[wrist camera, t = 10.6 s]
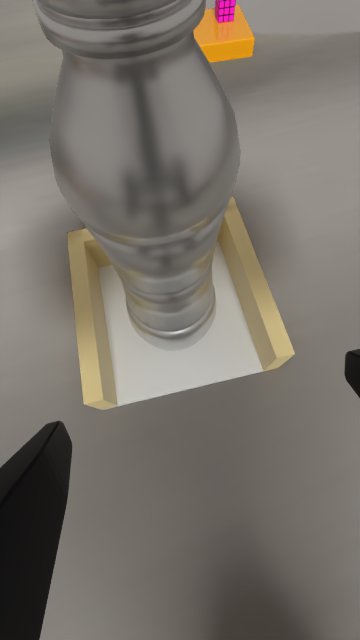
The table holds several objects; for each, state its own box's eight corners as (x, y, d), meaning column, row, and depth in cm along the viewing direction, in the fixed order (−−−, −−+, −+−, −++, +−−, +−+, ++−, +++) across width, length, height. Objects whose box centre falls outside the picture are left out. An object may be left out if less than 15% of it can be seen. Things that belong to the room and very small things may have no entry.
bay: (277, 367, 22) (295, 353, 18) (102, 410, 21) (83, 404, 18) (227, 230, 27) (233, 197, 23) (84, 261, 26) (66, 232, 23)
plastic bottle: (205, 276, 25) (235, -198, 6) (222, 351, 22) (357, -85, 4) (130, 288, 25) (-57, -160, 6) (139, 365, 22) (-138, -14, 4)
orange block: (251, 59, 37) (258, 15, 33) (190, 69, 37) (189, 25, 33) (236, 26, 40) (241, -19, 36) (179, 34, 40) (178, -9, 36)
